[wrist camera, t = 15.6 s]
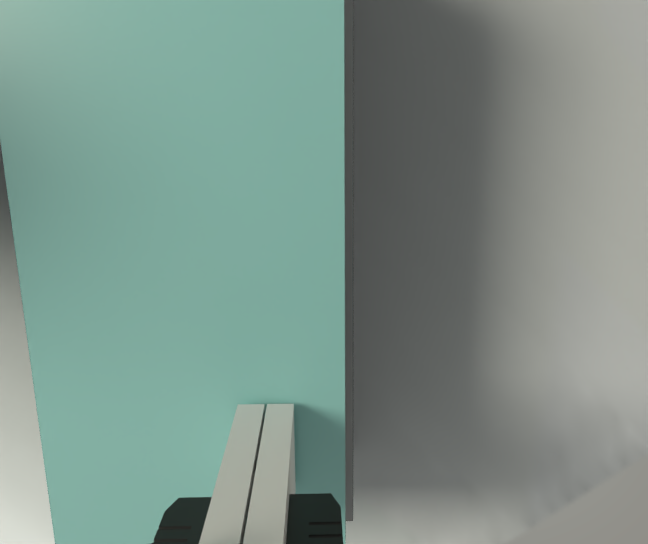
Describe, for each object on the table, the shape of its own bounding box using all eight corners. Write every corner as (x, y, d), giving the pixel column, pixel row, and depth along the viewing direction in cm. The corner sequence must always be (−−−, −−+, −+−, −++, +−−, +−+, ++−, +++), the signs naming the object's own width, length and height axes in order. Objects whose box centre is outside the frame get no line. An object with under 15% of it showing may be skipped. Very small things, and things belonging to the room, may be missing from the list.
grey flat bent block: (50, -47, 19) (-17, -90, 15) (345, -48, 19) (353, -92, 15) (105, 460, 23) (64, 526, 20) (346, 455, 24) (352, 520, 20)
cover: (-16, -93, 15) (-34, -104, 14) (344, -103, 15) (343, -114, 14) (65, 531, 19) (55, 546, 19) (345, 537, 19) (345, 552, 18)
